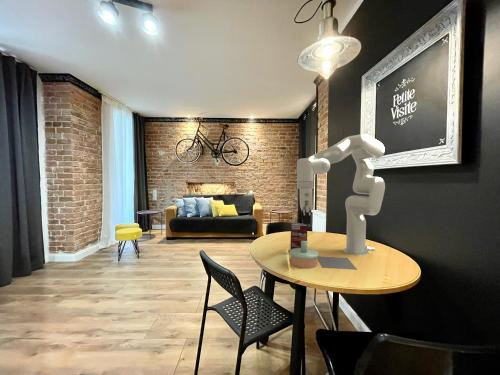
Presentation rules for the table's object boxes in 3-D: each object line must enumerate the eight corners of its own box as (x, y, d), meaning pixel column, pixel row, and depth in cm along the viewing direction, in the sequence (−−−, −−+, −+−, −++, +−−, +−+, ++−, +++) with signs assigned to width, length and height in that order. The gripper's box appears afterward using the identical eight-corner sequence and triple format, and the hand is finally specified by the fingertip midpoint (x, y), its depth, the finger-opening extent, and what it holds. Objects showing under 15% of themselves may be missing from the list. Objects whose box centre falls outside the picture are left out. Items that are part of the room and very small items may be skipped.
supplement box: (290, 254, 123) (291, 225, 123) (290, 251, 128) (290, 223, 128) (307, 255, 122) (307, 225, 122) (306, 252, 127) (306, 223, 127)
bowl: (314, 261, 114) (315, 251, 113) (319, 270, 102) (319, 259, 101) (290, 260, 115) (290, 250, 115) (291, 269, 103) (291, 258, 103)
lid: (315, 250, 114) (316, 238, 114) (320, 260, 101) (321, 246, 101) (289, 249, 115) (289, 237, 115) (290, 258, 102) (291, 244, 102)
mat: (347, 259, 116) (347, 257, 116) (357, 271, 101) (357, 269, 101) (316, 258, 118) (316, 256, 118) (322, 269, 103) (322, 267, 103)
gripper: (316, 186, 98) (316, 226, 99) (311, 184, 115) (311, 218, 116) (298, 186, 99) (298, 225, 100) (295, 184, 116) (295, 218, 117)
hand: (305, 221), depth 108 cm, fingers open, 9 cm apart
